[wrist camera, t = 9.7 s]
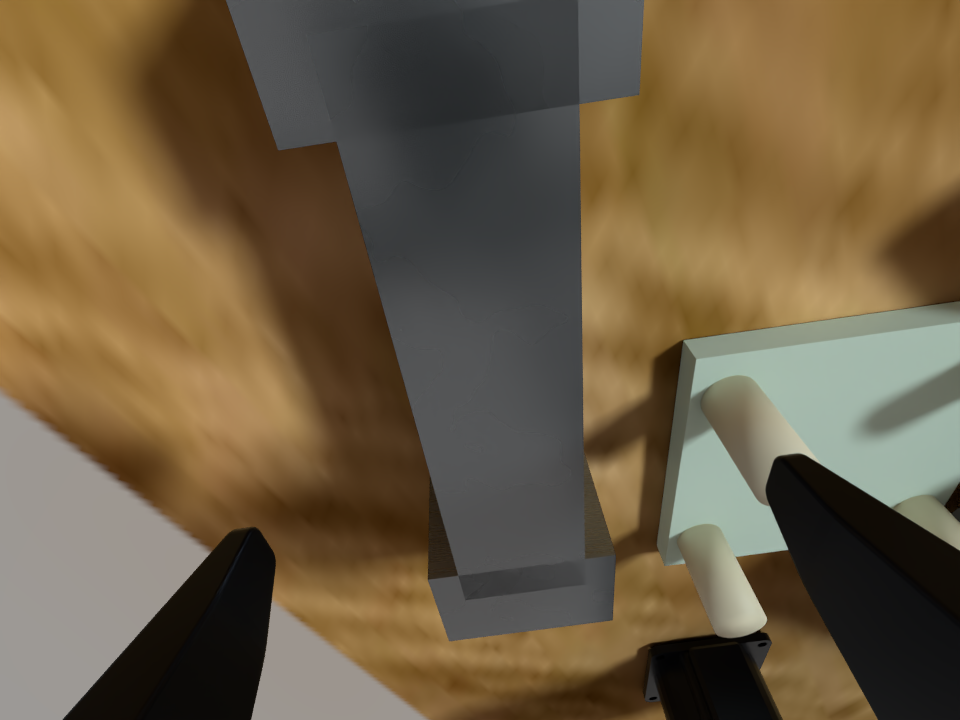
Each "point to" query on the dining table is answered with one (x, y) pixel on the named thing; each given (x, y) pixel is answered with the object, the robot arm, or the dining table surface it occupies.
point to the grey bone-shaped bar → (471, 261)
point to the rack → (807, 436)
